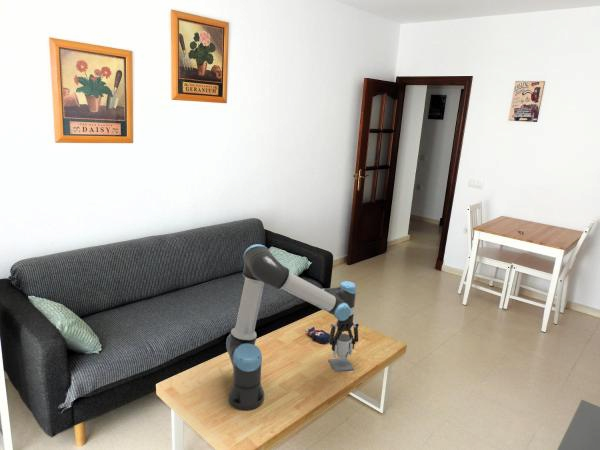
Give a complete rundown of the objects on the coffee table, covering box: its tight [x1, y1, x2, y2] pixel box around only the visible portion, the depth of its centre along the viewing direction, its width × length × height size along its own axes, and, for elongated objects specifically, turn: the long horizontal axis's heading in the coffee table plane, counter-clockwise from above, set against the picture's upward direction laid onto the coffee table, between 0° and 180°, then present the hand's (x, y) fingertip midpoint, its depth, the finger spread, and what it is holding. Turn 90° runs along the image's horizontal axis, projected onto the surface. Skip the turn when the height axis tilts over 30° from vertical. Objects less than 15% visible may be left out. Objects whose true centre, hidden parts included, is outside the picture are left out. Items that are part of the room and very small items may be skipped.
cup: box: [336, 332, 352, 359], centre depth 215 cm, size 8×8×10 cm
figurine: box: [304, 326, 330, 345], centre depth 242 cm, size 9×4×15 cm
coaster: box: [328, 357, 355, 373], centre depth 218 cm, size 10×10×1 cm
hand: (342, 355), depth 217 cm, fingers closed on cup, 8 cm apart
